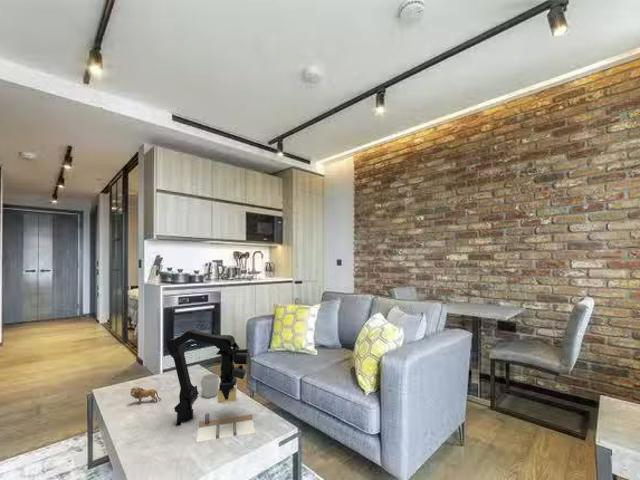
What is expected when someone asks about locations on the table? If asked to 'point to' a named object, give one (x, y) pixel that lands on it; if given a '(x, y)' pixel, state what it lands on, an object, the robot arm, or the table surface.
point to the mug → (210, 385)
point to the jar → (236, 390)
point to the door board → (224, 427)
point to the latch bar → (231, 397)
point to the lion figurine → (143, 394)
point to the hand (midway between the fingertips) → (226, 397)
